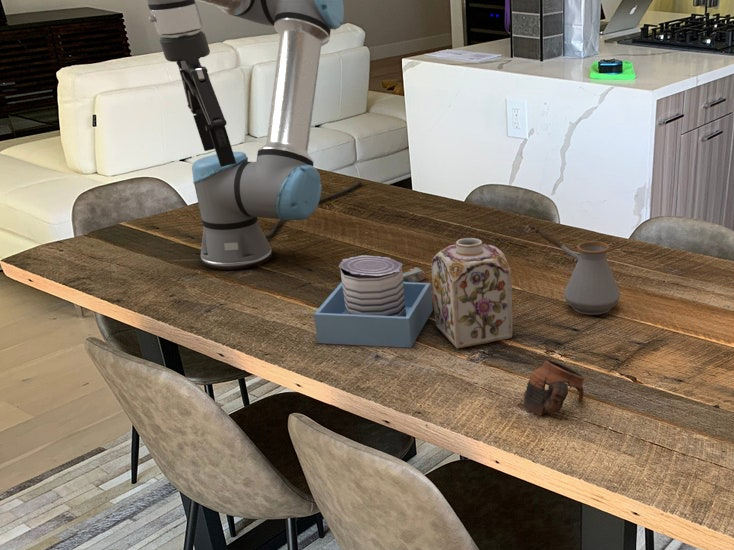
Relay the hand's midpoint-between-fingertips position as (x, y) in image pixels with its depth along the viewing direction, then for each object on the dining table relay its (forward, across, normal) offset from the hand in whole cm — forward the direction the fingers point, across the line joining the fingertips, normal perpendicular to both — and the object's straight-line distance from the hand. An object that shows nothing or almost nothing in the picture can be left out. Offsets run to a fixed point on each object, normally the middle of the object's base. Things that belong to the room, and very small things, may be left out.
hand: (219, 156), depth 161 cm
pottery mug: (+33, +68, +28) cm, 81 cm away
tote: (+31, +24, +15) cm, 42 cm away
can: (+31, +24, +15) cm, 42 cm away
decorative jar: (+33, +36, +30) cm, 57 cm away
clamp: (+33, +6, +25) cm, 42 cm away
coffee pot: (+36, +32, +53) cm, 72 cm away
